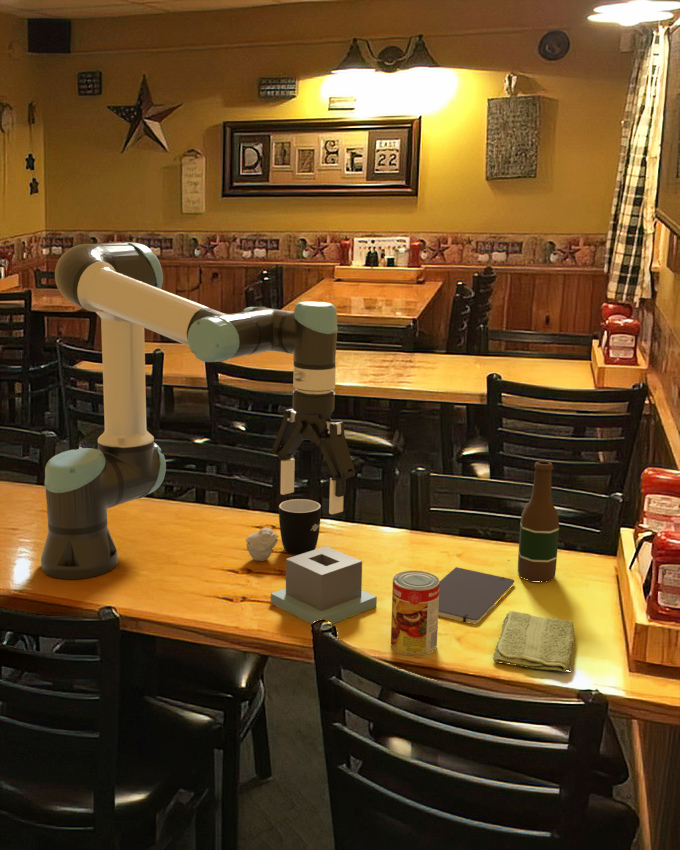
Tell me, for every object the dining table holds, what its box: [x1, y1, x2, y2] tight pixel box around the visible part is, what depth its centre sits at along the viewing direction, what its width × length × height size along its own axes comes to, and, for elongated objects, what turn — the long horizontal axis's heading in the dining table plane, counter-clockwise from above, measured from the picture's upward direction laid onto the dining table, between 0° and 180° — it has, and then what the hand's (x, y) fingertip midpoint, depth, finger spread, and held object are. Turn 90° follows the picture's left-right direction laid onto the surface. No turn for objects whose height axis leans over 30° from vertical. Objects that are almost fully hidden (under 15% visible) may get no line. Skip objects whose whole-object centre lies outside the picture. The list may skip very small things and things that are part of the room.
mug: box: [278, 498, 322, 556], centre depth 201 cm, size 12×9×10 cm
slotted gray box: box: [285, 545, 363, 611], centre depth 173 cm, size 10×10×7 cm
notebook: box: [438, 566, 515, 624], centre depth 179 cm, size 13×2×21 cm
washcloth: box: [492, 610, 575, 673], centre depth 159 cm, size 13×18×3 cm
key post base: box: [270, 587, 378, 625], centre depth 173 cm, size 14×14×7 cm
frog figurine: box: [245, 527, 279, 562], centre depth 194 cm, size 6×7×7 cm
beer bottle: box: [517, 460, 560, 583], centre depth 186 cm, size 8×8×24 cm
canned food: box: [390, 570, 441, 657], centre depth 158 cm, size 8×8×12 cm
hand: (310, 502), depth 171 cm, fingers open, 13 cm apart
